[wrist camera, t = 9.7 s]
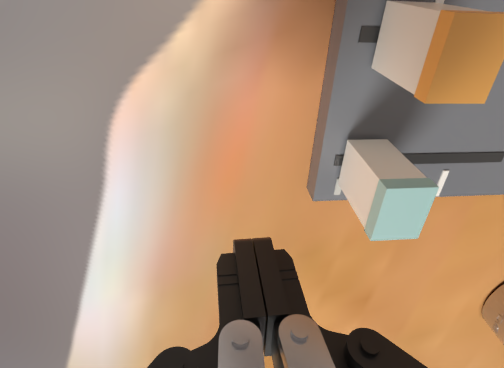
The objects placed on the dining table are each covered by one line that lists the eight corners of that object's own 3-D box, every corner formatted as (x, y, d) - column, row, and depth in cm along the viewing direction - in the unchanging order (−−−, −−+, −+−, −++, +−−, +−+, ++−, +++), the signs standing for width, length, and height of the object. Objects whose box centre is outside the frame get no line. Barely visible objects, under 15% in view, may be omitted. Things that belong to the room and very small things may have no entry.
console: (640, -25, 18) (677, -24, 16) (522, 180, 25) (541, 193, 23) (342, -41, 16) (355, -41, 14) (306, 187, 23) (313, 201, 21)
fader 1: (436, 1, 15) (523, 15, 11) (416, 69, 17) (484, 103, 13) (385, -1, 15) (455, 12, 11) (370, 68, 17) (424, 103, 13)
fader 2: (388, 138, 19) (439, 187, 15) (375, 183, 21) (417, 238, 17) (346, 138, 19) (387, 188, 15) (337, 184, 21) (370, 240, 16)
